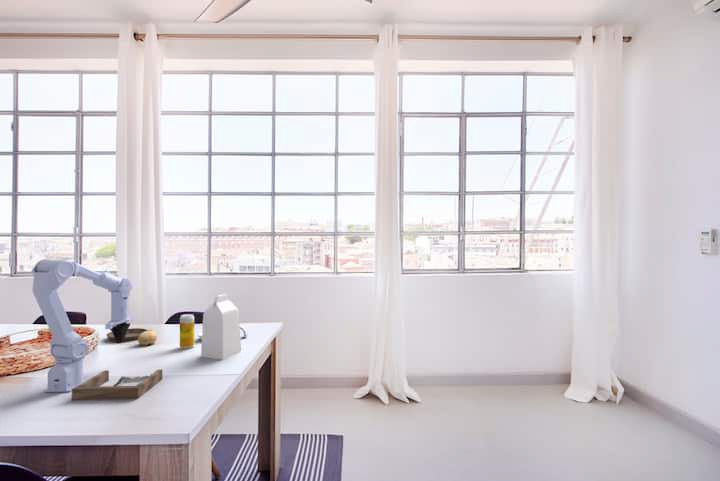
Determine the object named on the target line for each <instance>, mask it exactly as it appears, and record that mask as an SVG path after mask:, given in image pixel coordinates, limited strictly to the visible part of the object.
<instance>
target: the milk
mask: <svg viewBox="0 0 720 481" xmlns="http://www.w3.org/2000/svg"><path fill="white" fill-rule="evenodd" d="M228 294H229V293H228ZM228 294H227V293H223V294H220V295H216V296H215V298H214V300H213V303H212V304H210V306H209V307H208V308H207V309H206V310H205V311H204V312H203V314H202V328H201V329H202V331H201V332H202V339H201V350H200V351H201V352H200V357H202V358H210V359H216V360H217V359H218V360H222V361H223V360H225V359H227V358H229V357H231V356H235V355H236V354H239V353H240V352H242V342H241V329H240V325H241V324H240V311H239V309H238V308H237V306H235V304H234V303H233V302H232V301H231V300H230V298H229V295H228Z"/></svg>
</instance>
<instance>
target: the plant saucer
mask: <svg viewBox="0 0 720 481" xmlns="http://www.w3.org/2000/svg"><path fill="white" fill-rule="evenodd" d="M148 330H149V329H146V328H140V327H139V328H137V327H136V328H128V330H127V332H126V335H125V339H124V342H131V341H136V340H137V341H138V336H139V335H140V334H141V333H142V332H145V331H148ZM106 337H107V339H108V340H110V341H111V342H115V343H116V341H115V338H114V335H113V333H112V331H109V332H108V333H106Z"/></svg>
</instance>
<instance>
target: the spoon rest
mask: <svg viewBox="0 0 720 481" xmlns="http://www.w3.org/2000/svg"><path fill="white" fill-rule="evenodd" d="M240 331H242V334H243V337H244V339H247V337H248V332H247V329H246V327H245V326H243V324H242V325H241V324H240ZM197 337H198V339H201V340H202V331H200V332H198V333H197Z"/></svg>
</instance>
